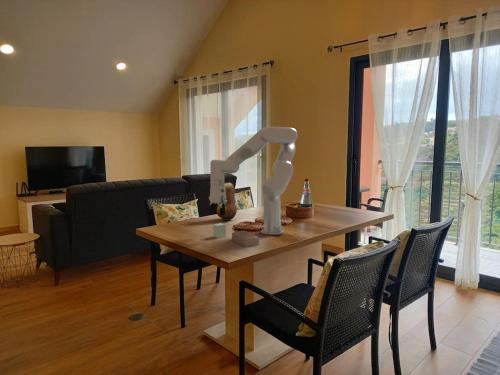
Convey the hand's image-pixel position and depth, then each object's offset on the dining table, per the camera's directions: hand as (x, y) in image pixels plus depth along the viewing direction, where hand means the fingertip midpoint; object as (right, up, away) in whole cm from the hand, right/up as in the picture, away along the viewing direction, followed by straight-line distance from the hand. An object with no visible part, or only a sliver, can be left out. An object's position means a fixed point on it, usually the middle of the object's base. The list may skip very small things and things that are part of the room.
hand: (217, 213), depth 205 cm
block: (+1, -13, +2) cm, 13 cm away
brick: (+15, -15, -11) cm, 24 cm away
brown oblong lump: (+3, -8, +46) cm, 47 cm away
